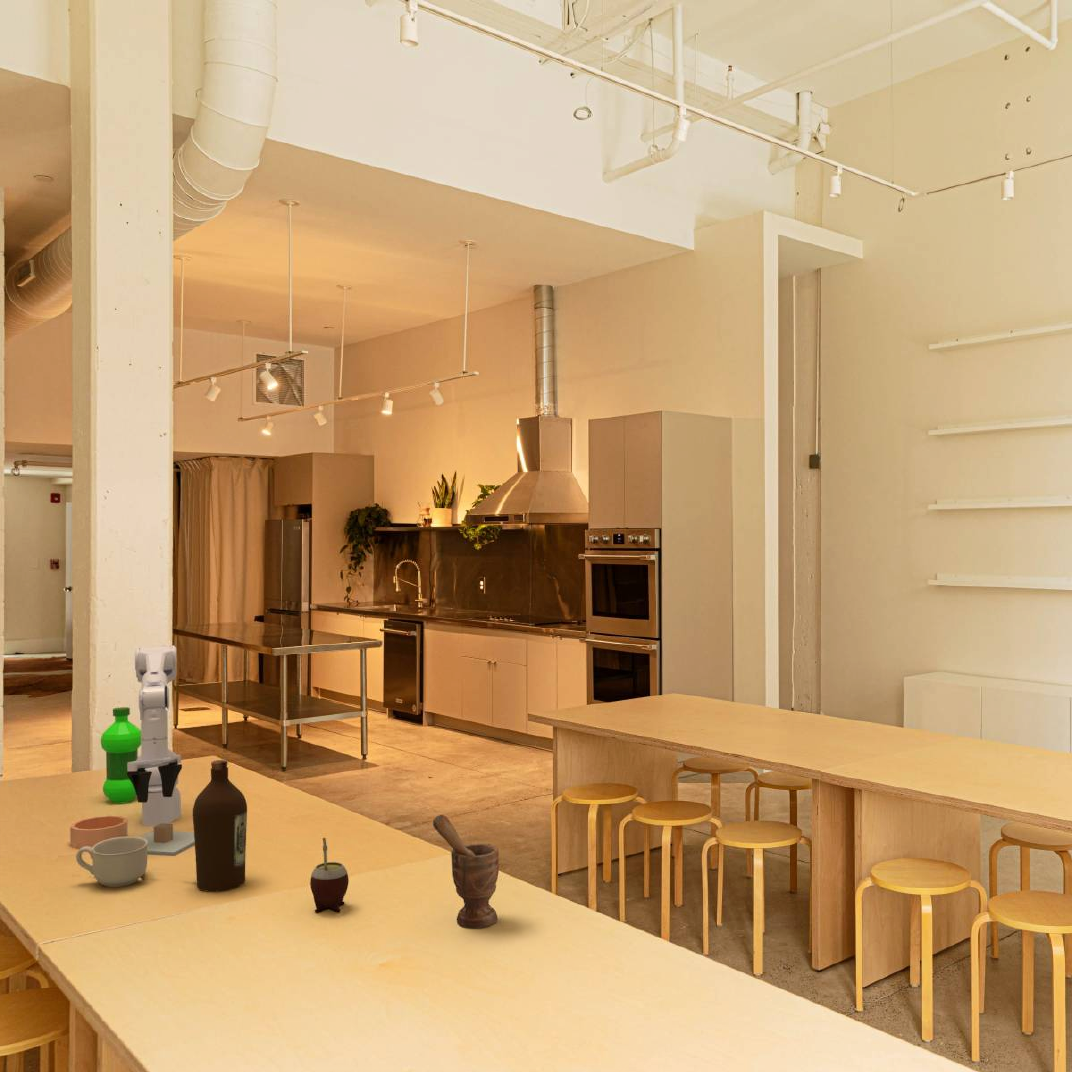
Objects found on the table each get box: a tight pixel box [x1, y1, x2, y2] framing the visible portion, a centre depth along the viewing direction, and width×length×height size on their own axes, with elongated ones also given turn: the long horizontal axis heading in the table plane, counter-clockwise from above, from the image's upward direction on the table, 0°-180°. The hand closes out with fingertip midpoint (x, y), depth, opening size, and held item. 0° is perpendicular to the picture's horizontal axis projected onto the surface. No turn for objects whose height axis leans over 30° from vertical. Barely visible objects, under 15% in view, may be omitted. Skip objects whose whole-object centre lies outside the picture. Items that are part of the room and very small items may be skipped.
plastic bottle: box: [100, 706, 141, 804], centre depth 280 cm, size 10×10×25 cm
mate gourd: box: [309, 837, 350, 914], centre depth 195 cm, size 8×8×15 cm
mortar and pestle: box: [432, 814, 500, 929], centre depth 187 cm, size 12×9×20 cm
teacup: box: [75, 835, 148, 888], centre depth 213 cm, size 14×11×8 cm
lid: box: [139, 823, 195, 856], centre depth 237 cm, size 15×15×4 cm
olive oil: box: [192, 759, 248, 893], centre depth 210 cm, size 11×11×25 cm
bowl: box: [69, 815, 129, 849], centre depth 240 cm, size 12×12×5 cm
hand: (155, 799), depth 235 cm, fingers open, 7 cm apart
